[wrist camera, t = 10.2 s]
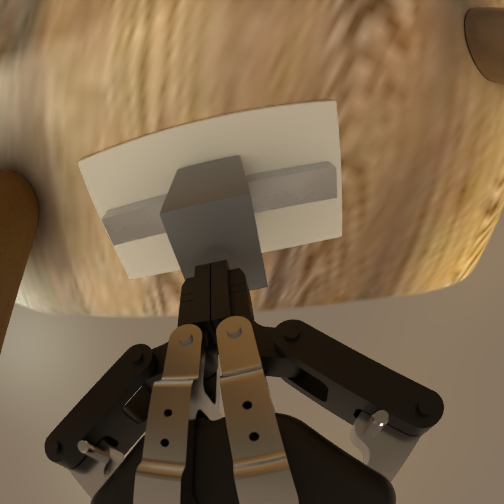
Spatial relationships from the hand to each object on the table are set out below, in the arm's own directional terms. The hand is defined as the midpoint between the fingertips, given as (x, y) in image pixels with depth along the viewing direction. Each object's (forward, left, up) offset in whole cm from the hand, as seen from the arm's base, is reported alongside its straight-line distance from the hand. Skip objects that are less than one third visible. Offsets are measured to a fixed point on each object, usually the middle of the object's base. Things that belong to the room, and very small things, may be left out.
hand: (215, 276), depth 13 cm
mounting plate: (0, 0, -10) cm, 10 cm away
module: (0, 0, -9) cm, 9 cm away
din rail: (0, 0, -10) cm, 10 cm away
